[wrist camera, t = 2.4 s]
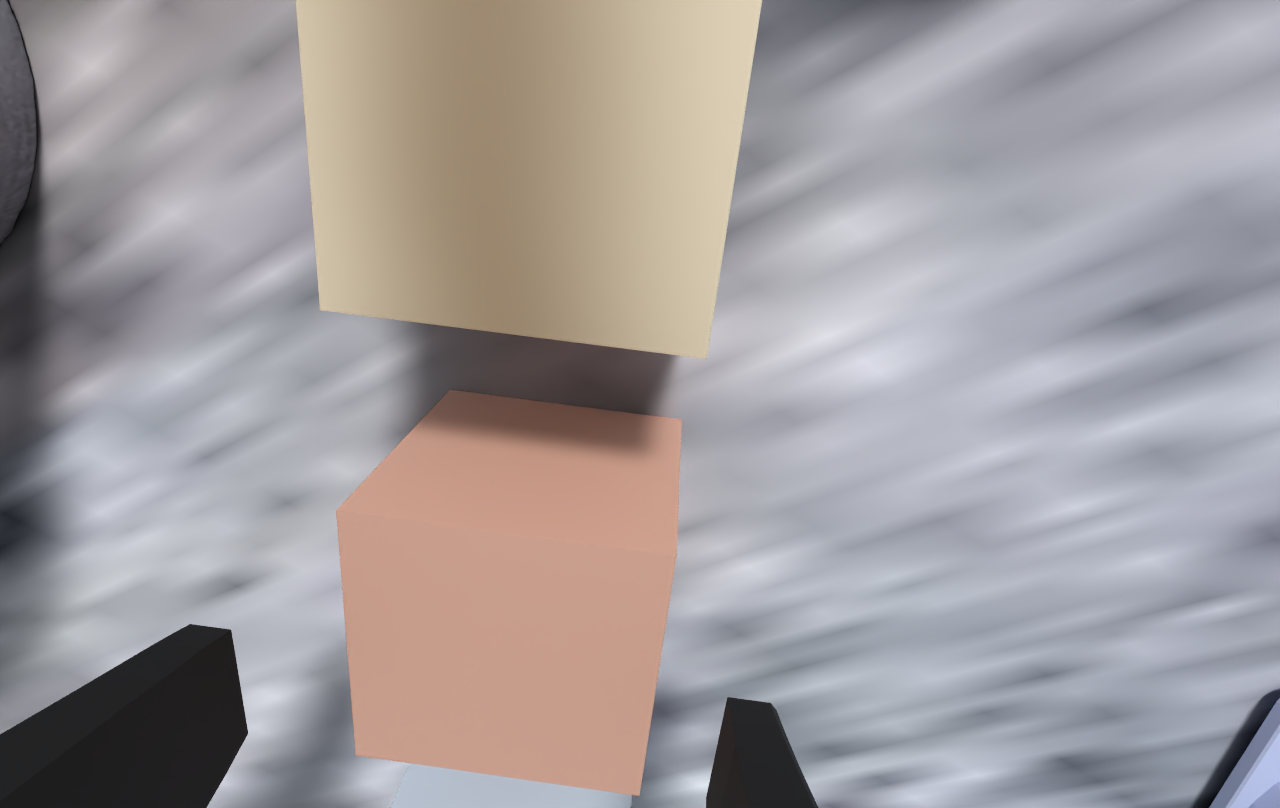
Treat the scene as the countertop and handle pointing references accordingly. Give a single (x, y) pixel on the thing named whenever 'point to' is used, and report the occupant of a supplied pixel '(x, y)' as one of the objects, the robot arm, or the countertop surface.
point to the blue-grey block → (494, 792)
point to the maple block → (527, 162)
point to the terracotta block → (513, 590)
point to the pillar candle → (14, 122)
